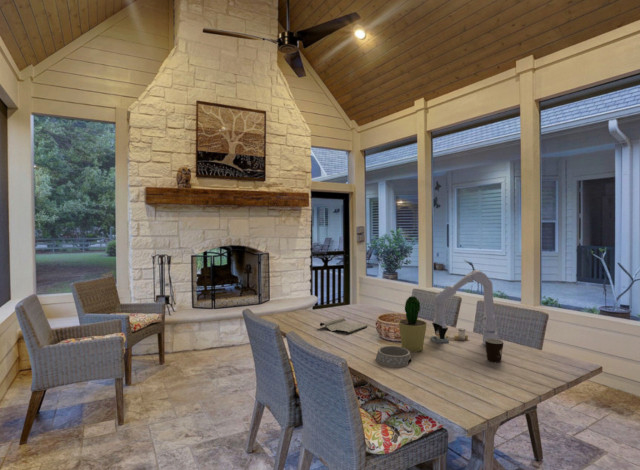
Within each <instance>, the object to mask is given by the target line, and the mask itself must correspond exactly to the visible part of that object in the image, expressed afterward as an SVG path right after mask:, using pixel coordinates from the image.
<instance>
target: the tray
mask: <svg viewBox="0 0 640 470" xmlns="http://www.w3.org/2000/svg"><path fill="white" fill-rule="evenodd" d="M430 340H431V341H433V342H434V343H435V344H448V343H449V344H450V341H449V340H448V339H447V338H446V337H444V339H443V340H436V335H432V336H430Z"/></svg>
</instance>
